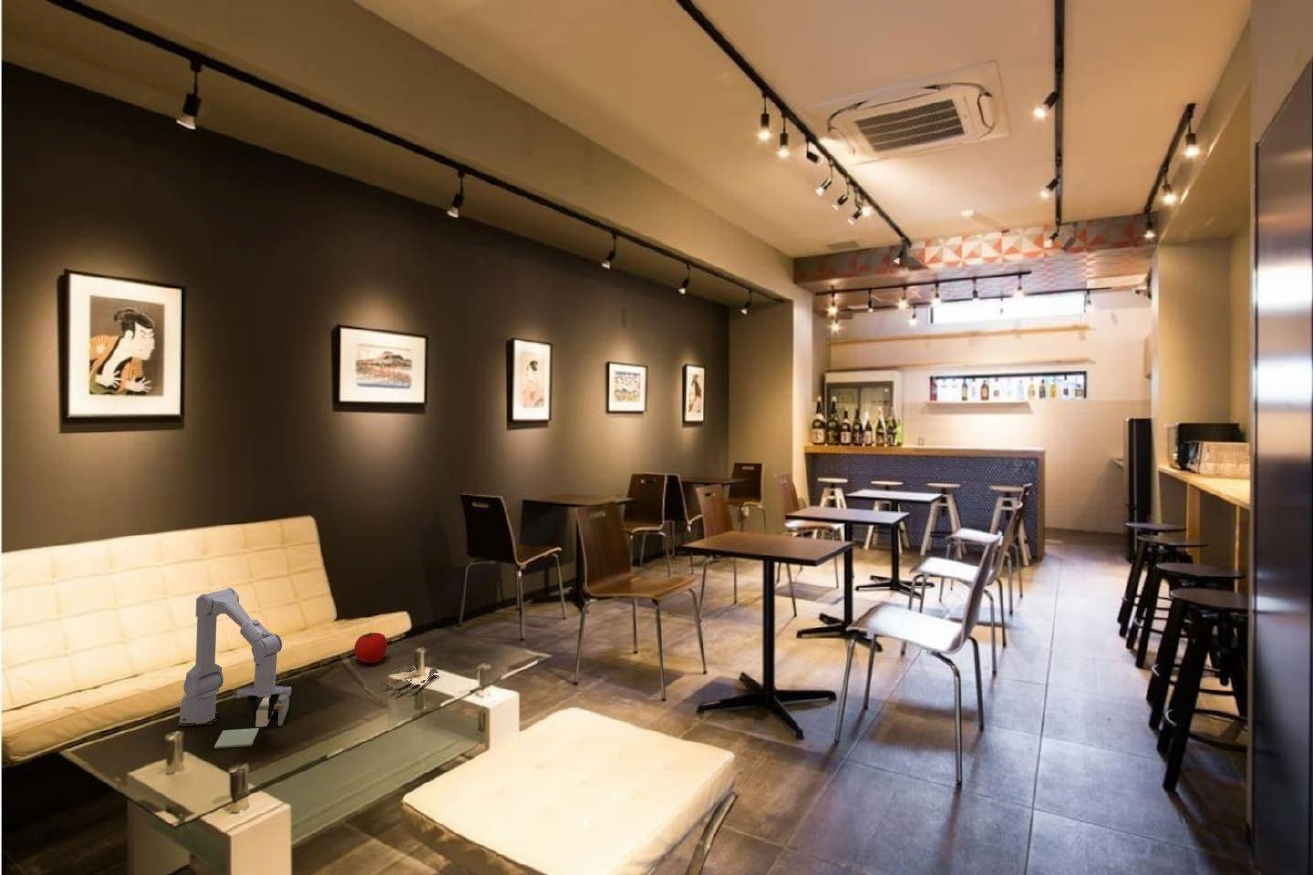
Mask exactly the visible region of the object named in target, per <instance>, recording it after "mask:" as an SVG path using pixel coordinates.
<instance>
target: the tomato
mask: <svg viewBox="0 0 1313 875" xmlns="http://www.w3.org/2000/svg"><path fill="white" fill-rule="evenodd" d="M360 635H361V636H359V638H357V639H356V641H355V644H354V646H353V650H354V655H355V657H356V658H357V659H358V660H359V661H361V662H363V663H366V664H367V663H368V664H370V663H371V664H373V663H375V664H376V663H378V662H380V661H381V660H382V659H383V658H384V656H385V655H386V652H387V649H388V642H387V639H386V636H385V634H383V633H380V632H371V631H370V632H369V633H364V634H361V633H360Z"/></svg>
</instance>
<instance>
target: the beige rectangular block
mask: <svg viewBox="0 0 1313 875" xmlns="http://www.w3.org/2000/svg"><path fill="white" fill-rule="evenodd" d="M259 703H260V704H258V709H257V713H256V720H255V728H263V727H267V726H268V724H269V723H270V720H271V719H269V720H268V712H269V698H265V697H262V700H261V702H259ZM273 714H274V713H273V712H272V715H273ZM262 726H263V727H262Z"/></svg>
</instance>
